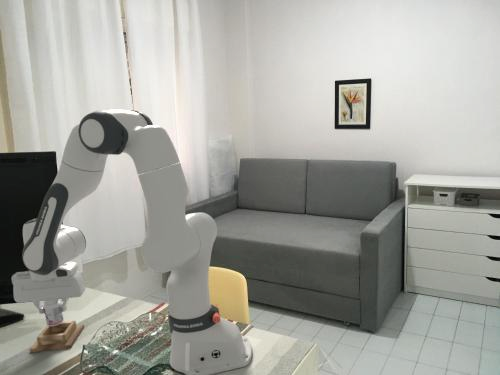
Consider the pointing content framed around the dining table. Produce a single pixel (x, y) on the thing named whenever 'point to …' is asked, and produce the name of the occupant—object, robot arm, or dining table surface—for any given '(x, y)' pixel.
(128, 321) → the dining table surface
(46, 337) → the brown square wooden holder
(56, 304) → the pill bottle
